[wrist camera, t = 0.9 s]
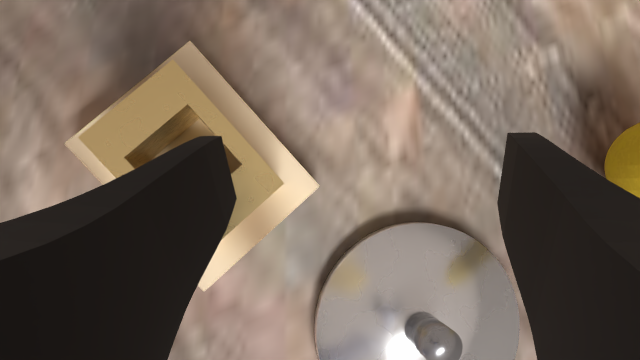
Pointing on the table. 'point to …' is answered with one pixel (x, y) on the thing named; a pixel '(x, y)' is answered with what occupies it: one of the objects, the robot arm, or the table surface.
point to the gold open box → (176, 135)
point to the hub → (417, 299)
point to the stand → (254, 132)
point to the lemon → (625, 161)
